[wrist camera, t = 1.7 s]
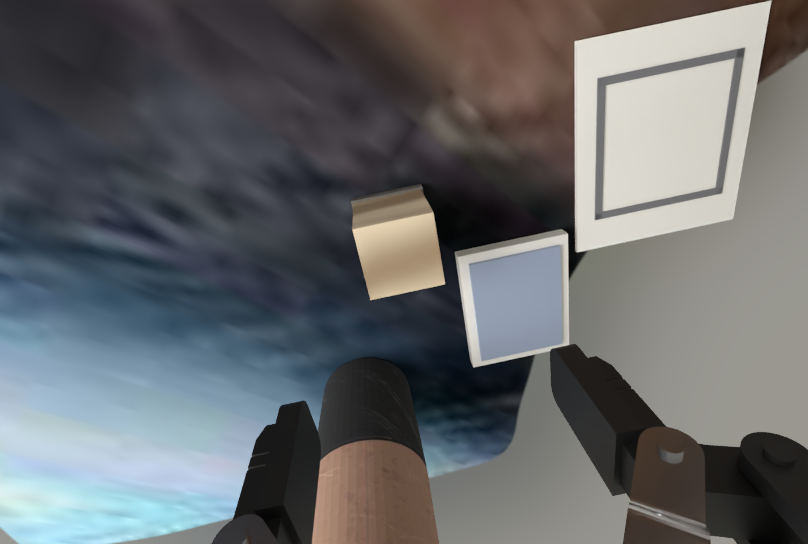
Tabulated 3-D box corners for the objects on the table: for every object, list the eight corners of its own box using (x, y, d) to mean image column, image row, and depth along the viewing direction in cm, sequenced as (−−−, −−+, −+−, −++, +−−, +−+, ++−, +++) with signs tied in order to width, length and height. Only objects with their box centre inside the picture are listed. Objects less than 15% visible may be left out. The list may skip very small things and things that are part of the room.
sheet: (574, 41, 25) (577, 40, 24) (767, 1, 25) (773, 0, 25) (575, 250, 31) (577, 253, 31) (729, 217, 31) (734, 219, 31)
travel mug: (388, 339, 33) (423, 661, 15) (426, 404, 36) (494, 731, 18) (303, 378, 33) (239, 728, 15) (348, 437, 37) (339, 784, 19)
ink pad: (454, 251, 30) (458, 258, 29) (561, 229, 30) (569, 235, 29) (470, 360, 34) (474, 369, 33) (563, 339, 34) (570, 349, 33)
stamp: (351, 198, 28) (348, 227, 22) (420, 183, 28) (435, 209, 22) (366, 262, 30) (368, 302, 24) (431, 248, 30) (447, 286, 24)
